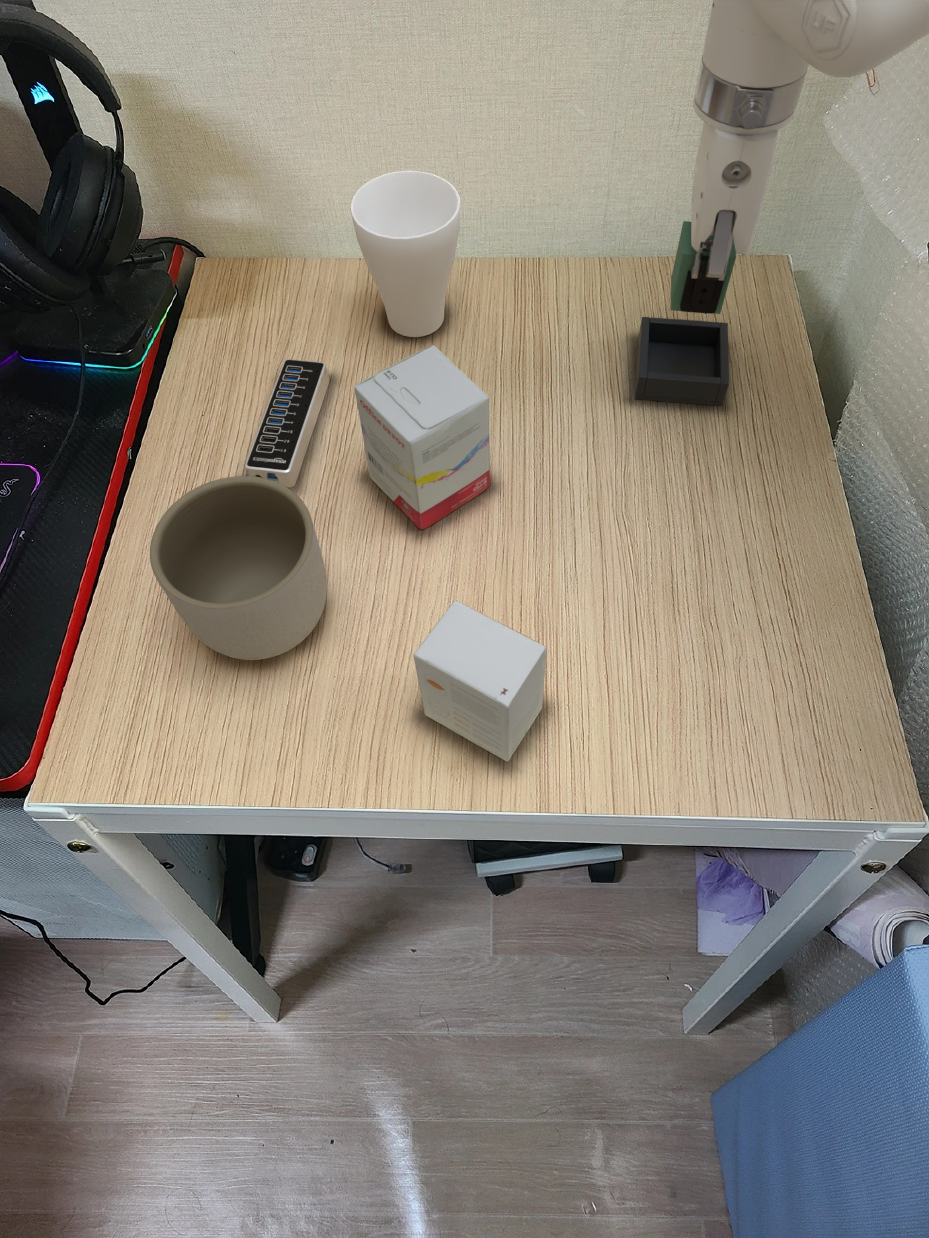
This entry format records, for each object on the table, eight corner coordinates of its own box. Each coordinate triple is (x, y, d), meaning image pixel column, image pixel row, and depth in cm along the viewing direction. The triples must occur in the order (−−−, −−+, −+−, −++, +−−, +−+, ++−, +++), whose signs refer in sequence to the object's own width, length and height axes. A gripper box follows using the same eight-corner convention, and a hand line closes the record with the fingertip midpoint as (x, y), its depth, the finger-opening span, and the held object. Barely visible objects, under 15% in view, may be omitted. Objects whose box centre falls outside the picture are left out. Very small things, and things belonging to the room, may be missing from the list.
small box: (543, 709, 70) (550, 646, 61) (507, 765, 68) (509, 708, 59) (459, 662, 72) (454, 596, 63) (422, 715, 70) (411, 653, 61)
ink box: (493, 487, 82) (493, 395, 71) (419, 533, 79) (408, 445, 69) (439, 433, 85) (431, 338, 75) (366, 475, 83) (349, 384, 73)
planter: (340, 665, 73) (317, 596, 63) (190, 686, 72) (145, 619, 63) (331, 545, 79) (309, 466, 69) (193, 563, 78) (152, 486, 69)
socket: (721, 345, 90) (728, 322, 88) (722, 406, 86) (729, 384, 83) (637, 339, 91) (642, 316, 88) (634, 399, 87) (638, 377, 84)
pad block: (719, 281, 81) (735, 224, 76) (720, 314, 79) (736, 257, 74) (671, 278, 82) (683, 220, 77) (670, 310, 80) (682, 254, 74)
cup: (381, 281, 97) (365, 165, 85) (473, 291, 96) (470, 175, 84) (356, 346, 92) (336, 233, 80) (453, 358, 90) (448, 244, 79)
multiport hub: (330, 378, 89) (326, 361, 87) (294, 488, 82) (289, 472, 80) (289, 374, 90) (284, 357, 88) (249, 483, 83) (243, 467, 81)
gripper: (806, 158, 60) (740, 359, 76) (794, 29, 68) (737, 235, 84) (696, 151, 60) (653, 352, 76) (697, 25, 69) (658, 230, 85)
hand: (697, 289), depth 80 cm, fingers closed on pad block, 4 cm apart
